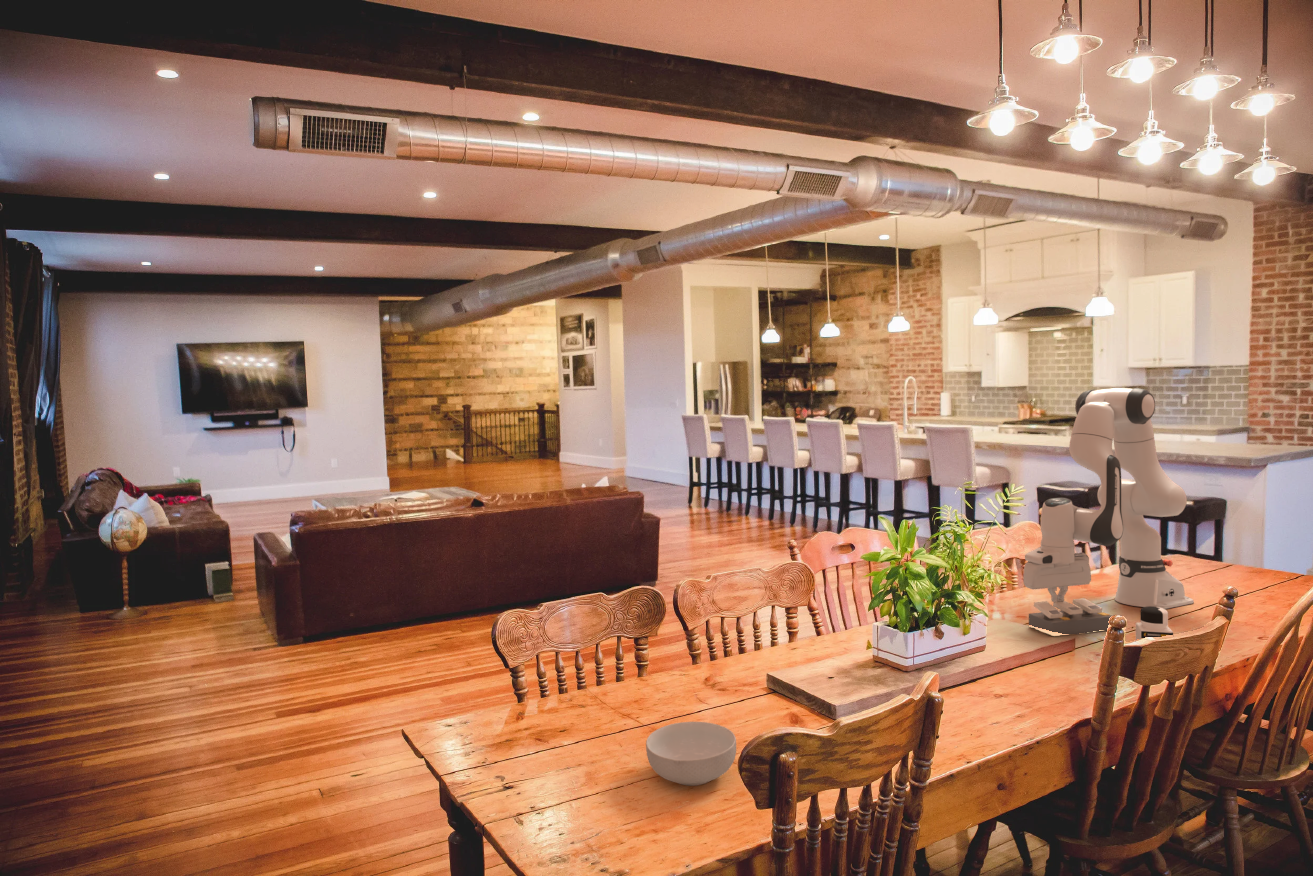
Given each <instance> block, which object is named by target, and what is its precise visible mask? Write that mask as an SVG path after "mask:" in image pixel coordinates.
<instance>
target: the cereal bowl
mask: <svg viewBox="0 0 1313 876" xmlns="http://www.w3.org/2000/svg"><path fill="white" fill-rule="evenodd" d="M645 747H646V748H645V750H646V756H647V760H648V764H649V766H650V767H651V768H652V770H653V771H654V773H656V774H657V775H658V776H660V777H661V778H663V779H665V780H667V781H669V782H673V783H677V784H679V785H682V786H683V785H684V786H688V787H689V786H691V787H693V786H702V785H705V784H707V783H709V782H710V781H713V780H717V779H718V778H719V777H722V775H724V774H725V773H727V771H729V770H730V768H731V767H732V765H733V763H734V762H735V760H736V759H735V758H736V756H737V755H736V754H737V739H736V736H735V734H734V732H733V731H732V730H730V729H729V728H727V727H726V726H722V725H720V724H716V723H712V722H707V721H682V722H675V723H670V724H668V725H664V726H661V727H660V728H658V729H656V730H654V731H652V732H651V733H650V734H649V735H648V737H647V738H646V741H645Z"/></svg>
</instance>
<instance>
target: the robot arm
mask: <svg viewBox="0 0 1313 876" xmlns="http://www.w3.org/2000/svg"><path fill="white" fill-rule="evenodd" d="M1155 411H1156V401H1155V397H1154V396H1153V394H1152V393H1151V392H1150V391H1149V390H1148V389H1144V388H1140V387H1139V388H1138V387H1135V388H1129V387H1113V388H1112V387H1111V388H1104V389H1103V388H1102V389H1088V390H1085V391H1083V392H1082V393H1080V395H1078V397H1077V398H1076V400H1075V413H1076V417H1075V419H1074V420H1075V421H1074V423H1073V427H1072V429H1071V435H1070V441H1069V445H1068V446H1069V447H1068V449H1069V450H1068V451H1069V454H1070V456H1071V458H1072V460H1073V461H1074V462H1075V463H1076V464H1077V465H1080V466H1081V467H1082V468H1085V469H1087V470H1089V471H1091V472H1093V473H1095V474H1096V475H1097V477H1099V479H1100V482H1101V483H1100V486H1099V487H1098V490H1097V494H1096V495H1097V500H1098V503H1099V504H1100V507H1099V509H1093V508H1085V507H1084V508H1083V507H1078V506H1076V505H1074V504H1073V501H1072V500H1071V499H1070V498H1067V497H1053V498H1048V499H1047V500H1045V501H1044V502H1043V504H1042V507H1041V514H1040V530H1041V540H1040V547H1037V548H1035V549H1032V550H1031V551H1029V552H1026V553H1025V554H1024V560H1025V561H1027V562H1025V564H1024V567H1023V576H1022V579H1023V585H1024V586H1025V588H1027V589H1030V590H1034V591H1035V590H1040V589H1041V590H1043V589H1047V591H1048V593H1049V594H1050V596H1051V600H1050V601H1051V602H1064V601H1065V596H1066V594H1067V592H1068V591H1069V587H1075V586H1085V585H1089V584H1090V583H1091V581H1092V573H1091V572H1092V571H1091V566H1090V557H1089V555H1087V554H1086V553H1085V552H1075V551H1076V550H1075V549H1076V547H1075V542H1074V541H1079V542H1086V543H1091V544H1095V545H1099V546H1104V547H1110V546H1113V545H1114V544H1116V543H1117V542H1120V543H1119V546H1120V556H1119V557H1118V569H1119V576H1118V580H1117V581H1118V582H1117V587H1116V588H1117V589H1116V592H1115V597H1114V601H1116V602H1117V603H1120V604H1124V605H1127V606H1134V607H1141V608H1143V607H1147V606H1153V607H1160V608H1163V609H1165V610H1167V609H1171V608H1177V607H1181V606H1186V605H1191V604H1194V603H1195V602H1194V599H1193V598H1191V597H1189V596H1186V595H1185V594H1186V593H1185V587H1184V584H1183V583H1182V582H1181V580H1179V579H1178V578H1176V577H1175V576H1173V575H1172V574H1171V573H1170V572H1168V571H1167V568H1166V566H1167V567H1169V568H1170V567H1172V565H1174V564H1173V563H1174V562H1173V561H1172V560H1171V559H1167V558H1166V559H1164V560H1163V558H1162V537H1161V534H1160V533H1159V531H1157V529H1155V528H1153V527H1152V526H1151V525H1150V524H1148V522H1147V521H1146V520H1145V518H1144V516H1149V517H1159V518H1163V517H1165V518H1167V517H1174V516H1175V517H1176V516H1179V515H1180V514H1182V513H1183V511H1184V510H1185V508H1186V507H1187V506H1186V505H1187V501H1188V499H1187V494H1186V492H1185V490H1184V489H1183V487H1181V486H1180V485H1179V484H1177V483H1176V482H1174V481H1173V480H1172V479H1171V478H1170V477H1169V476H1168V475H1167V474H1166V472H1165V470H1164V469H1163V468H1162V466H1161V464H1160V462H1159V459H1158V453H1157V449H1156V442H1155V431H1154V426H1153V424H1152V419H1151V418H1152V417H1153V415H1154V414H1155ZM1113 447H1114V452H1113ZM1122 470H1124V471H1126V472H1128V474H1129V475H1131V476H1132V478H1133V479H1131V478H1130V479H1129V478H1122ZM1058 589H1059V591H1058V593H1056V591H1057V590H1058Z"/></svg>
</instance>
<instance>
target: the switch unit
mask: <svg viewBox="0 0 1313 876" xmlns="http://www.w3.org/2000/svg"><path fill="white" fill-rule="evenodd" d="M1058 610H1059V611H1060V612H1061V613H1063V616H1062V617H1061V618H1052V619H1050V618H1048V617H1047V616H1046V615H1044V614H1043V613H1042V612H1041V611H1039V612H1032V613H1028V626H1029V625H1032V626H1034V627H1038V628H1042V629H1046V630H1049V631H1052V632H1058V633H1062V634H1076V635H1080V634H1079V633H1085V634H1088V633H1087V632H1093V631H1099V630H1105V631H1104V632H1107V631H1106V630H1107V628H1108V625H1109V623H1108V621H1109V618H1110V617H1111V616H1113V615H1112V614H1109V613H1107V612H1104V611H1102V612H1098V613H1088V612H1087V611H1085V610H1083V613H1081V614H1071V615H1070V614H1068V613H1066V612H1064V611H1062V610H1060V609H1058ZM1093 633H1094V632H1093Z"/></svg>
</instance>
